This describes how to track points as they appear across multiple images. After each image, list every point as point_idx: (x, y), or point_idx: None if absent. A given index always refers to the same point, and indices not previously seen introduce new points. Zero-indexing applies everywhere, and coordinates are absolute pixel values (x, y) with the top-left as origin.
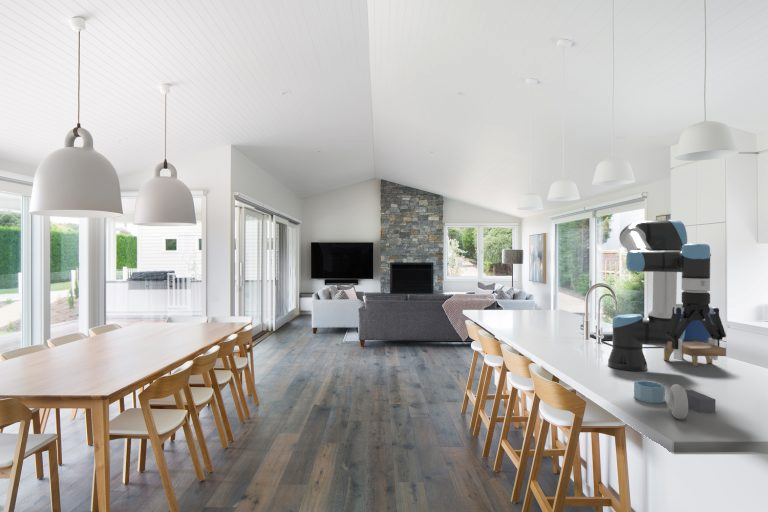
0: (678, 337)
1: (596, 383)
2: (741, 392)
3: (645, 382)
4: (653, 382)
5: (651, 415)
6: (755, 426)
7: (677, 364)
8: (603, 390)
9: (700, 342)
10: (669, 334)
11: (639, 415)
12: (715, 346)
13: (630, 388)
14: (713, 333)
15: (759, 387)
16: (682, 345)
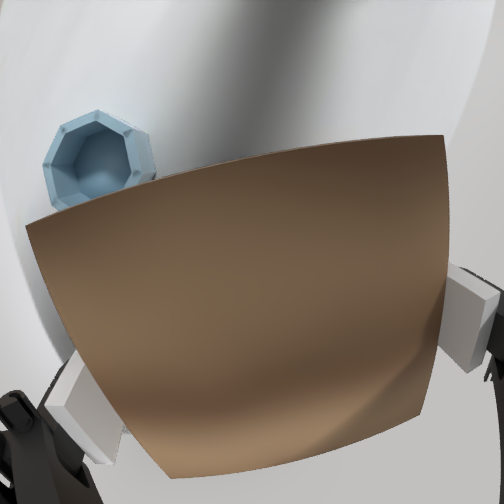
0: (79, 481)
1: (26, 39)
2: (445, 60)
3: (91, 123)
4: (115, 129)
5: None
6: None
7: None
8: (13, 114)
9: (421, 212)
10: (8, 476)
11: (58, 333)
12: (407, 384)
13: (100, 49)
14: (500, 406)
15: (484, 36)
16: (129, 420)
